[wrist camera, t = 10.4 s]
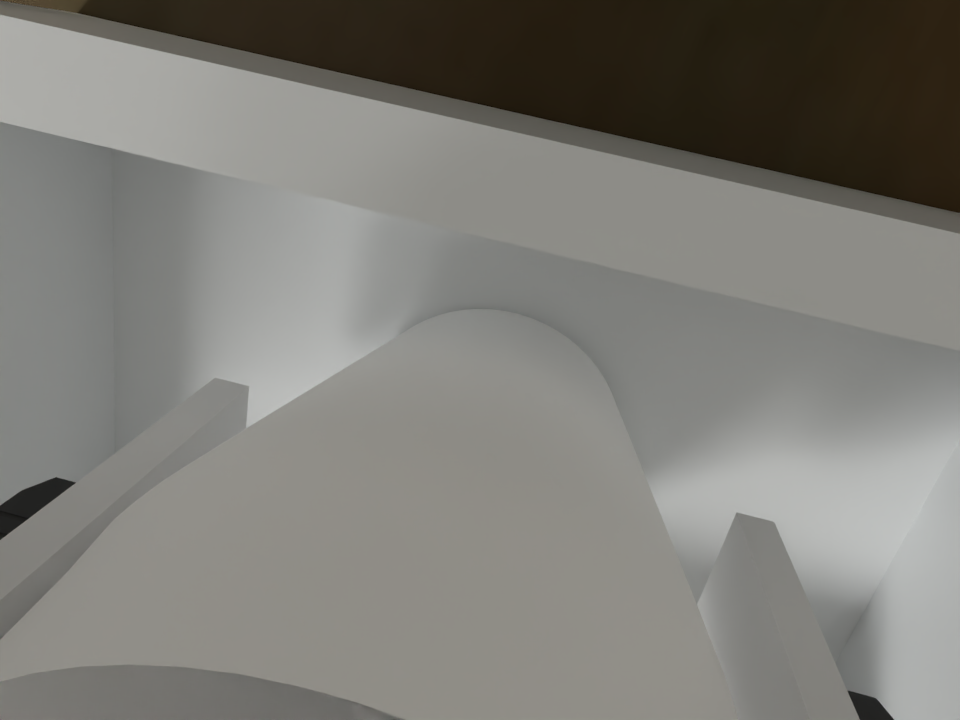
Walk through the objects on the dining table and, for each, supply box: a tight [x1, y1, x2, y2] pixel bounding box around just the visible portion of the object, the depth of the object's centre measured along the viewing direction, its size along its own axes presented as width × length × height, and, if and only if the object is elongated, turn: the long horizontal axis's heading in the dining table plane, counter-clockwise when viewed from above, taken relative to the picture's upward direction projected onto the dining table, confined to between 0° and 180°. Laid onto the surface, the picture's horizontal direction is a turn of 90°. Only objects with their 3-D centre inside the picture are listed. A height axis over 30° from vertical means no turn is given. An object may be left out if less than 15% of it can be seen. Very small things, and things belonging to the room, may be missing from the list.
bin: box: [0, 1, 960, 720], centre depth 15 cm, size 24×15×6 cm, turn 78°
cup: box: [0, 309, 738, 720], centre depth 12 cm, size 9×9×12 cm
